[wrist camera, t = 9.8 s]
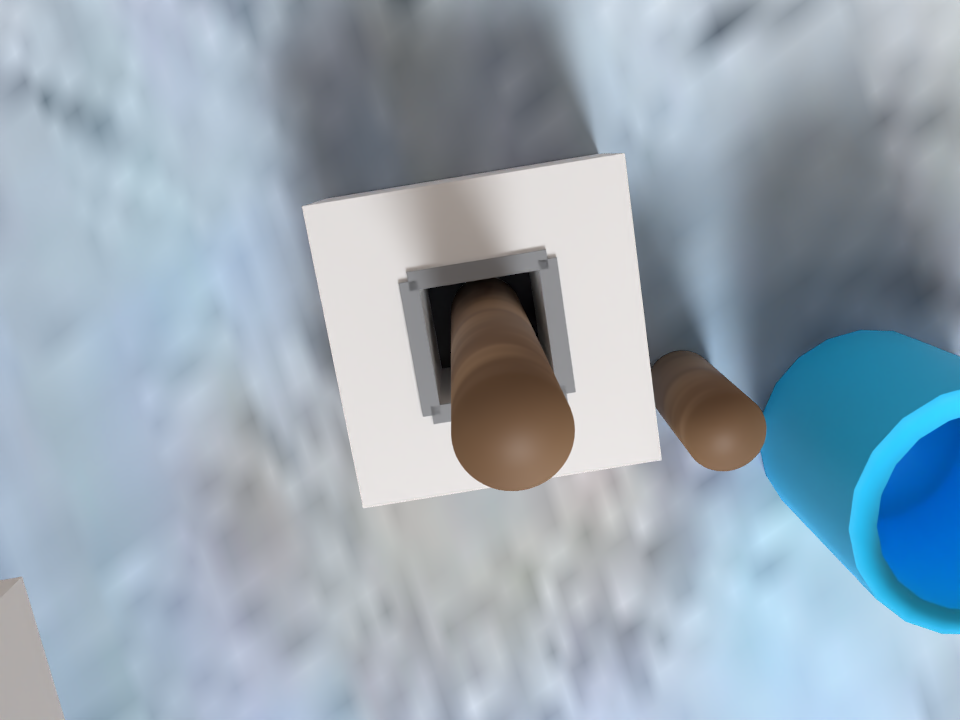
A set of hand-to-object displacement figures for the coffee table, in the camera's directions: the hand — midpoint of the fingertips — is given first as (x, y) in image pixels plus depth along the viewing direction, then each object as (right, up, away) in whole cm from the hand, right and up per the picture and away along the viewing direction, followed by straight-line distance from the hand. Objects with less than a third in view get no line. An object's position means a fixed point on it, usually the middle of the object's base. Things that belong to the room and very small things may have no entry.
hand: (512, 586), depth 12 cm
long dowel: (0, +5, +21) cm, 22 cm away
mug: (+16, 0, +23) cm, 28 cm away
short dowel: (+7, +2, +22) cm, 23 cm away
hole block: (0, +5, +21) cm, 22 cm away
